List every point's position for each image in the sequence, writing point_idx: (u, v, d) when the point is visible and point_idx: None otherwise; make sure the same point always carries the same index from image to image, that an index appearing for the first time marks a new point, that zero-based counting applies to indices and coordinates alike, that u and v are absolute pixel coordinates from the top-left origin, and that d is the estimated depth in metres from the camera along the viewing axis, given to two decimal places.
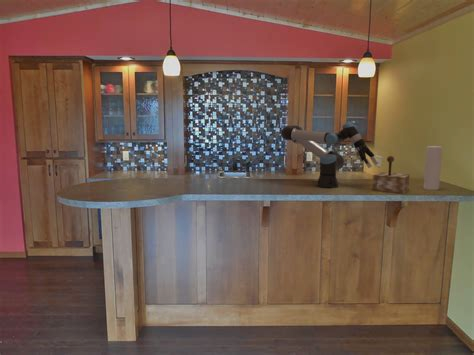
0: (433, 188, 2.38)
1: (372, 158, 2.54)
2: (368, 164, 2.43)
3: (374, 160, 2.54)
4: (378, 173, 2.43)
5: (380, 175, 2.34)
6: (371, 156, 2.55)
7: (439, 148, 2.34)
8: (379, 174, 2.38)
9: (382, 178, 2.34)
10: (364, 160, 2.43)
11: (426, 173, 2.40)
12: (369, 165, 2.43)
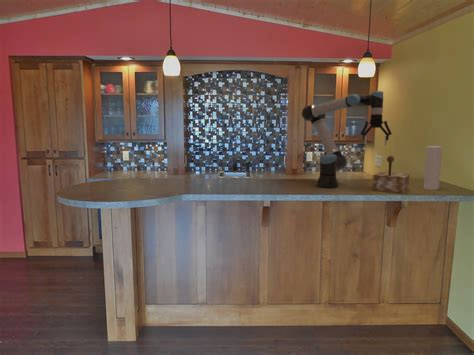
0: (433, 188, 2.38)
1: None
2: None
3: None
4: (378, 173, 2.43)
5: (380, 175, 2.34)
6: None
7: (439, 148, 2.34)
8: (379, 174, 2.38)
9: (382, 178, 2.34)
10: None
11: (426, 173, 2.40)
12: None
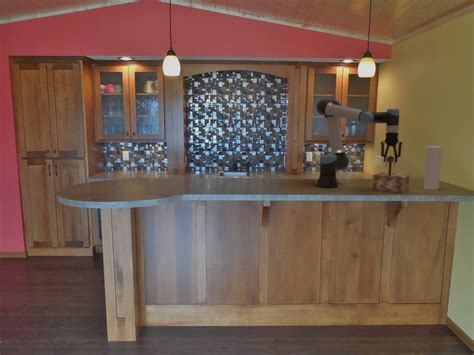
0: (433, 188, 2.38)
1: None
2: None
3: None
4: (378, 173, 2.43)
5: (380, 175, 2.34)
6: (395, 156, 2.30)
7: (439, 148, 2.34)
8: (379, 174, 2.38)
9: (382, 178, 2.34)
10: (384, 157, 2.35)
11: (426, 173, 2.40)
12: None
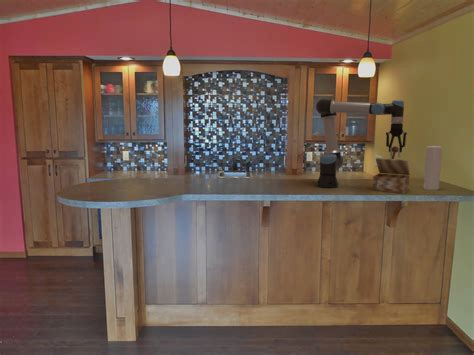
0: (433, 188, 2.38)
1: None
2: None
3: (398, 152, 2.40)
4: None
5: None
6: (400, 147, 2.39)
7: (439, 148, 2.34)
8: None
9: (382, 178, 2.34)
10: (389, 148, 2.44)
11: (426, 173, 2.40)
12: None
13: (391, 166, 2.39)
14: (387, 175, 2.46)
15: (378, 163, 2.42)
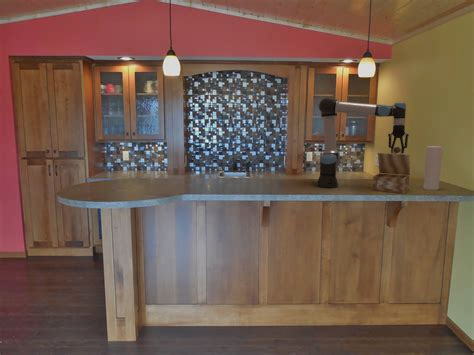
0: (433, 188, 2.38)
1: None
2: None
3: None
4: None
5: (385, 153, 2.40)
6: (402, 148, 2.45)
7: (439, 148, 2.34)
8: None
9: (382, 178, 2.34)
10: None
11: (426, 173, 2.40)
12: None
13: (392, 163, 2.41)
14: (387, 175, 2.46)
15: (380, 160, 2.44)
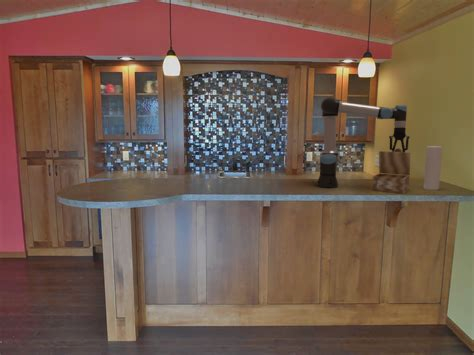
0: (433, 188, 2.38)
1: None
2: None
3: None
4: None
5: None
6: None
7: (439, 148, 2.34)
8: None
9: (382, 178, 2.34)
10: None
11: (426, 173, 2.40)
12: None
13: (392, 162, 2.42)
14: (387, 175, 2.46)
15: (380, 158, 2.46)
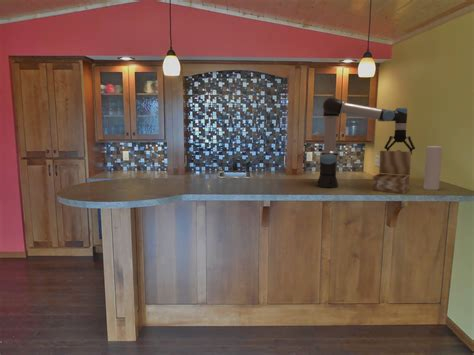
0: (433, 188, 2.38)
1: None
2: None
3: None
4: None
5: None
6: (410, 149, 2.47)
7: (439, 148, 2.34)
8: None
9: (382, 178, 2.34)
10: (387, 150, 2.56)
11: (426, 173, 2.40)
12: None
13: (393, 162, 2.43)
14: (387, 175, 2.46)
15: (381, 158, 2.47)
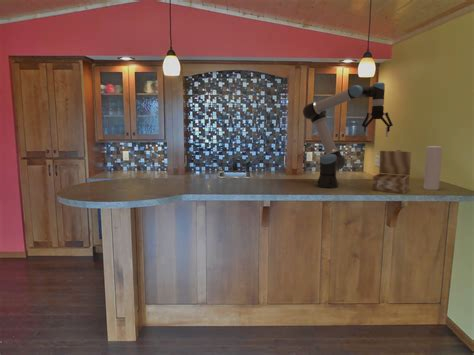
0: (433, 188, 2.38)
1: None
2: None
3: None
4: None
5: None
6: None
7: (439, 148, 2.34)
8: None
9: (382, 178, 2.34)
10: None
11: (426, 173, 2.40)
12: None
13: (393, 162, 2.43)
14: (387, 175, 2.46)
15: (381, 158, 2.47)
